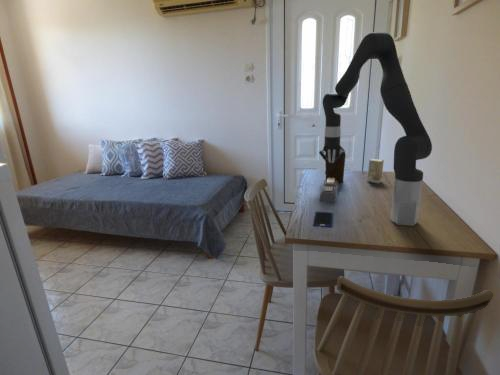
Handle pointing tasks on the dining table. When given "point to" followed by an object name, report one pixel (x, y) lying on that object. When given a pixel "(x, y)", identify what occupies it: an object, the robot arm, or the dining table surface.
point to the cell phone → (323, 219)
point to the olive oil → (336, 168)
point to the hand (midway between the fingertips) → (331, 169)
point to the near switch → (328, 188)
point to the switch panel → (329, 192)
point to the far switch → (330, 180)
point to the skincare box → (375, 170)
